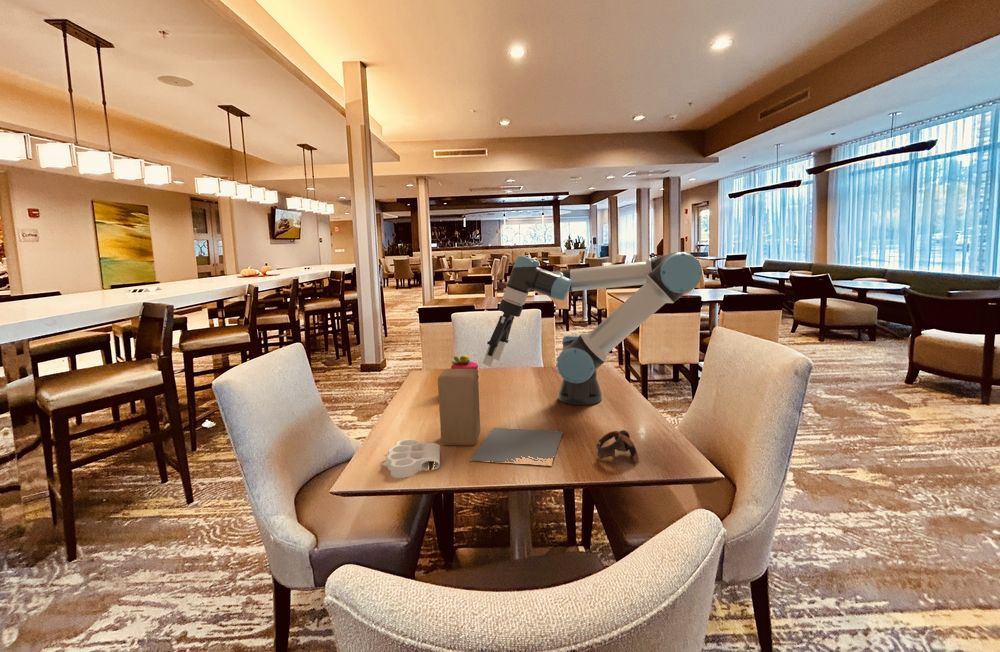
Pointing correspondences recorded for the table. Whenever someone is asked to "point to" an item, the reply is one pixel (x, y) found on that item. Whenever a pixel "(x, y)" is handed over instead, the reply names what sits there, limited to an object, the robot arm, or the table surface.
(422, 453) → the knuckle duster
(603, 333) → the robot arm
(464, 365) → the cake
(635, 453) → the brown hollow looped part
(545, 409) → the table surface
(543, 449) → the rubber mat
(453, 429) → the wooden block
